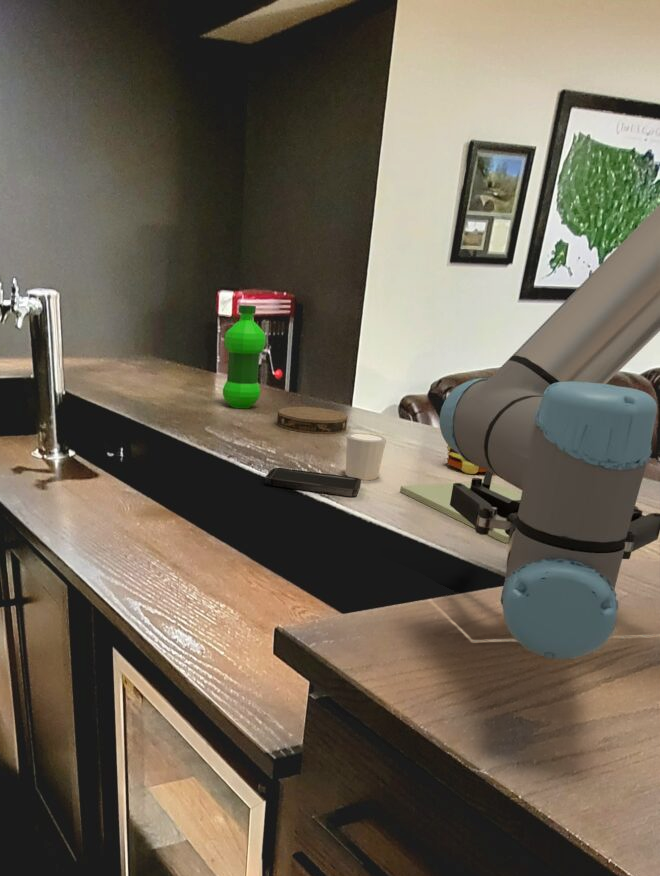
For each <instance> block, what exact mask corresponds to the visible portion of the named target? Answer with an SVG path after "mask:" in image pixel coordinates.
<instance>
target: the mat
mask: <svg viewBox="0 0 660 876" xmlns="http://www.w3.org/2000/svg"><path fill="white" fill-rule="evenodd" d="M483 481H484V480H482V483H483ZM471 482H472V481H462V482H461V481H460V482H458V483H461V484H463V485H465V486H466V487H468V488H470V487H471ZM454 483H455V482H446V483H445V482H444V483H429V484H415V485H414V484H411V485H400V489H399V492H400V493H402V494H403V495H406V496H408V497H410V498H411V499H414V500H416V501H418V502H420V503H422V504H424V505H426V506H428V507H430V508H432V509H433V510H436V511H438V512H440V513H442V514H445V515H447V516H448V517H450V518H453V519H454V520H457V521H459V522H461V523H463V524H465V525H466V526H469V527H471V528H473V529H475V526H474V525H473V524H471V523H470V522H469V521H468V520H467V519H466V518H464V517H463V516H462V515H461V514H460V513H458V512H457V511H456V510H455V509H454V508H453V507H451V506H450V500H451V495H452V489H453V484H454ZM490 490H492V491H494V492H496V493H498V494H500V495H503V496H505V497H507V498H509V499H511V500H521V496H522V493H519V492H517V491H515V490H512V489H509V488H507V487H504V486H502V485H499V484H497V483H494V482H492V481H491V485H490ZM487 536H489V537H491V538H494V539H495V540H498V541H499V542H501V543H503V544H509V535H507V534H506V532H505V530H503V529H496V528H494V529H493V531H489V533H488V534H487Z"/></svg>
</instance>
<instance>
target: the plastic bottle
mask: <svg viewBox="0 0 660 876" xmlns="http://www.w3.org/2000/svg"><path fill="white" fill-rule="evenodd" d="M256 310H257V306H256V305H249V304H247V305H246V304H239V305H238V314H240V317H239V318H240V319H239V320H238V321H236V322H235V323H234V324H233V325H232V326H231V327H230V328H229V329H228V330H226V332H225V335H224V339H223V340H224V341H223V342H224V348H225V349H226V351H227V352H228V359H227V360H228V361H227V374H226V375H227V376H226V382H225V383H224V385H223V387H222V396H223V399H224V400H225V402H226V403H227V404H228V405H230V408H231V407H232V408H236V409H250V408H252V406H254V405H255V404H256V403H257V401H258V400H259V398H260V395H261V386H260V384H259V381H258V379H259V378H258V377H259V366H260V354H261V353H262V351H263V350H264V349H265V345H266V339H267V338H266V333H265V332H264V330H262V328H261V327H260V325H258V323H256V322H255V321H254V315H256Z"/></svg>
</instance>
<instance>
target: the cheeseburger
mask: <svg viewBox="0 0 660 876" xmlns="http://www.w3.org/2000/svg"><path fill="white" fill-rule="evenodd" d="M446 449H447V451H448V452H447V458H446V461H447V465H449V466H451V467H452V468H455V469H458V470H461V471H462V473H465V474H467V475H475V474H477V473H486V471H487V470H485V469H483V468H481V467H479V466H475V465H474V464H472V463H470V462H467V461H466V460H464V459H463V458H462V457H461V455H460V454H459V453H457V452H456V451H455V450H453V449H452V448H450V447H449V446H448V445H446Z"/></svg>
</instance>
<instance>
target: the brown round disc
mask: <svg viewBox="0 0 660 876" xmlns="http://www.w3.org/2000/svg"><path fill="white" fill-rule="evenodd" d="M276 418H277V420H276V425H277V426H278V427H280V428H282V429H285V430H289V431H293V432H299V433H306V434H319V435H320V434H321V435H333V434H340V433H344V432H346V430H347V424H348V415H347V414H346V413H344V412H341V411H339V410H333V409H328V408H322V407H313V406H289V407H288V406H287V407H283V408H279V409H278V410H277V417H276Z"/></svg>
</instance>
